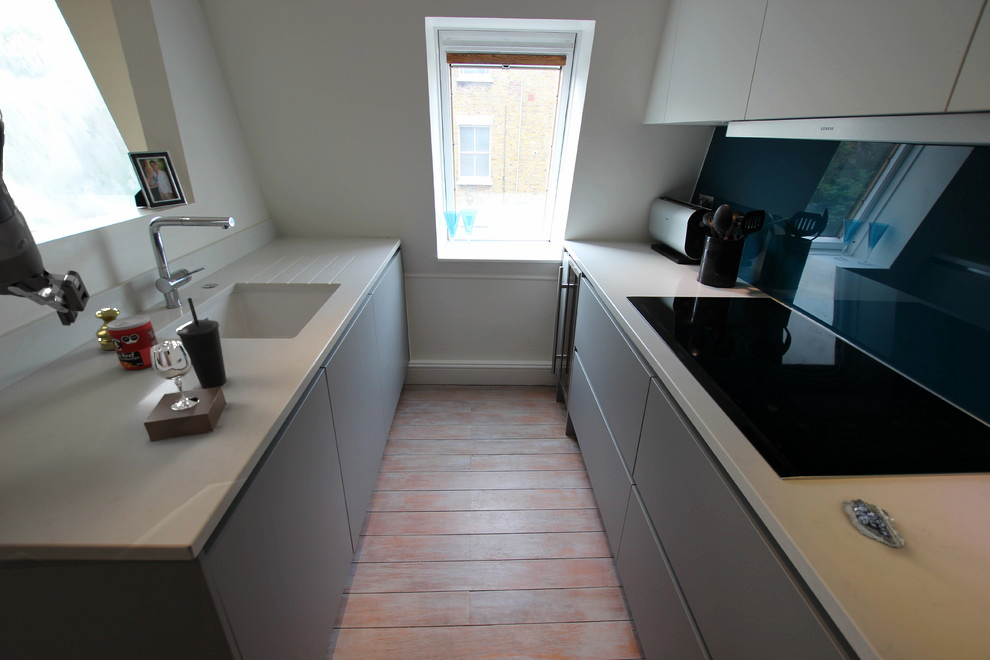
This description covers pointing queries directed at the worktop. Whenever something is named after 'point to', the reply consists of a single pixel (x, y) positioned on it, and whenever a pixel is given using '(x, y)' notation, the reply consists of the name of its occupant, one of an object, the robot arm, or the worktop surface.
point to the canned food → (133, 341)
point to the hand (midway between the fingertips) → (29, 316)
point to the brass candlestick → (102, 333)
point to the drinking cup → (204, 349)
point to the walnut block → (185, 414)
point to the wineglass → (173, 368)
